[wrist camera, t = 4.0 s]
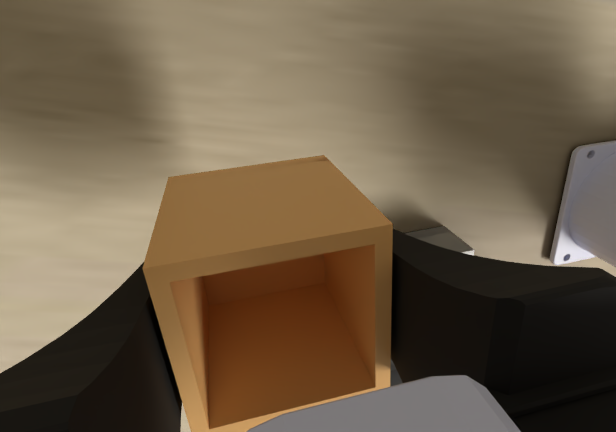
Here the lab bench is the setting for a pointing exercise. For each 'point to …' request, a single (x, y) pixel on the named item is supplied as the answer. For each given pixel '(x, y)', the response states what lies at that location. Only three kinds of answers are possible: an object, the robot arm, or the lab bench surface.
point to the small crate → (270, 290)
